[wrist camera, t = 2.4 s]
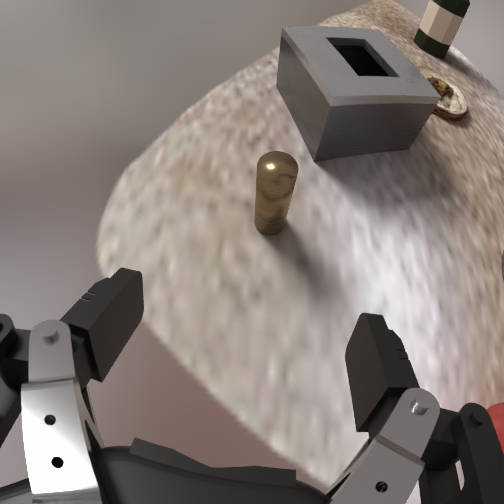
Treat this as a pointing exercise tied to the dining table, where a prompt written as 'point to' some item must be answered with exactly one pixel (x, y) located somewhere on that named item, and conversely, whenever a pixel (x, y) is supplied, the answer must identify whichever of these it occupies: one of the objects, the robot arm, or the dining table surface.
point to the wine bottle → (440, 25)
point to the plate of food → (446, 96)
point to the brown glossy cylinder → (274, 191)
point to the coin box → (351, 91)
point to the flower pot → (498, 421)
